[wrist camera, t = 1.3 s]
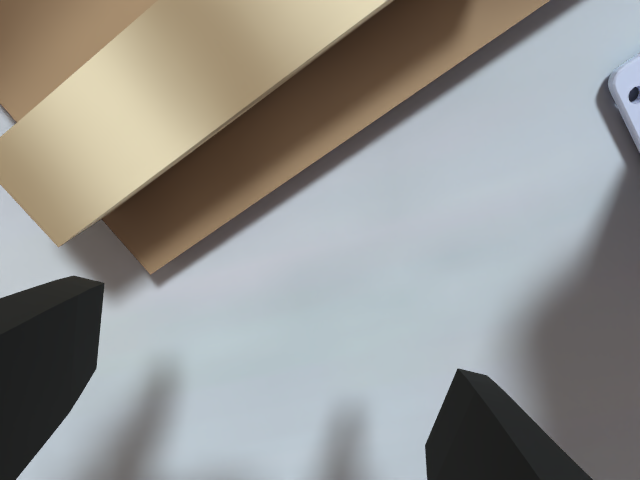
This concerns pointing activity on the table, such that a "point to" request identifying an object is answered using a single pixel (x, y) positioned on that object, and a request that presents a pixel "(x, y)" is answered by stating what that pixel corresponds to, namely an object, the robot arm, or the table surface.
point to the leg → (159, 100)
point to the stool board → (260, 120)
